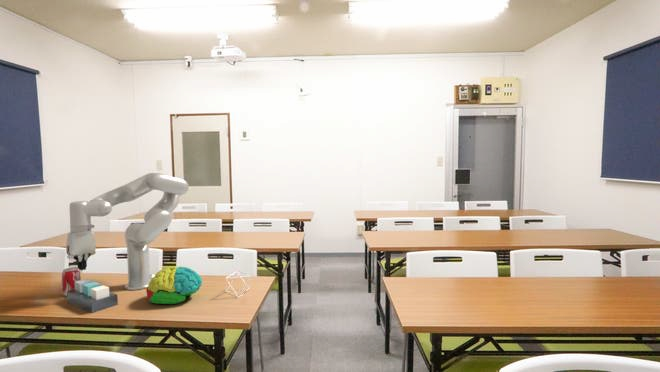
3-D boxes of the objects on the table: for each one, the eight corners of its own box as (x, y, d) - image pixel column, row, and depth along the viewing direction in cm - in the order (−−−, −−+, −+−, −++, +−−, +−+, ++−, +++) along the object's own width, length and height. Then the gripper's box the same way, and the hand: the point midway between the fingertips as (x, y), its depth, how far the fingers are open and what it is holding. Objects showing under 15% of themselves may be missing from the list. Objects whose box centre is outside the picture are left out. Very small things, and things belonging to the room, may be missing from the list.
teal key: (95, 292, 155) (95, 281, 154) (100, 294, 152) (100, 283, 152) (82, 296, 151) (82, 284, 150) (88, 298, 148) (87, 286, 148)
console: (92, 294, 162) (92, 284, 162) (117, 304, 150) (117, 294, 149) (67, 301, 153) (66, 291, 153) (92, 313, 141) (91, 302, 141)
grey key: (87, 289, 159) (87, 278, 158) (92, 291, 156) (92, 280, 156) (75, 292, 155) (74, 281, 154) (80, 294, 152) (79, 283, 152)
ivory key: (103, 296, 151) (103, 285, 151) (109, 298, 148) (109, 287, 148) (91, 300, 147) (90, 288, 146) (96, 302, 144) (96, 291, 144)
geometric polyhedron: (220, 296, 159) (219, 277, 158) (232, 288, 169) (231, 270, 169) (244, 299, 156) (244, 279, 155) (255, 290, 166) (255, 272, 166)
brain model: (209, 291, 164) (207, 260, 164) (191, 307, 145) (188, 272, 145) (162, 292, 166) (159, 262, 165) (137, 309, 147) (134, 274, 146)
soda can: (71, 297, 158) (69, 271, 157) (58, 296, 159) (57, 270, 159) (84, 291, 165) (83, 267, 164) (72, 290, 166) (71, 266, 166)
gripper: (95, 225, 162) (96, 264, 163) (57, 230, 149) (58, 272, 150) (103, 227, 158) (104, 266, 159) (64, 232, 145) (66, 275, 146)
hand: (82, 269), depth 155 cm, fingers closed
